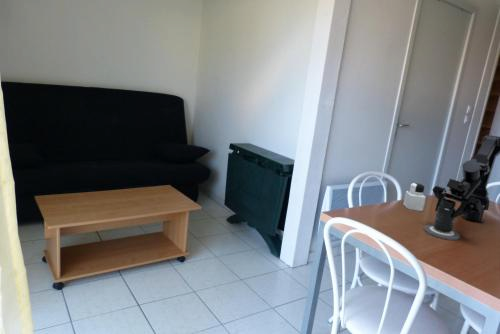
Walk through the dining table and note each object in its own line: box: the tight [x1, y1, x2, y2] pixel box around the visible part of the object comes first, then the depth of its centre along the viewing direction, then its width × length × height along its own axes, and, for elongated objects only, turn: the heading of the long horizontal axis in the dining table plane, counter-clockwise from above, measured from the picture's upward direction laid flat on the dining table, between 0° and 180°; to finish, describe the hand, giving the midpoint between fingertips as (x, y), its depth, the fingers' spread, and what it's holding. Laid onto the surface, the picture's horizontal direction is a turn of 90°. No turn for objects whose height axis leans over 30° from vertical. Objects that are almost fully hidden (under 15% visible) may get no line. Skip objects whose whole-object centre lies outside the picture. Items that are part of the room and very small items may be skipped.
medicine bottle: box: [402, 182, 427, 212], centre depth 175 cm, size 7×7×12 cm
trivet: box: [423, 224, 461, 241], centre depth 146 cm, size 13×13×1 cm
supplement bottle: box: [432, 198, 457, 232], centre depth 145 cm, size 7×7×12 cm
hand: (443, 214), depth 144 cm, fingers closed on supplement bottle, 7 cm apart
